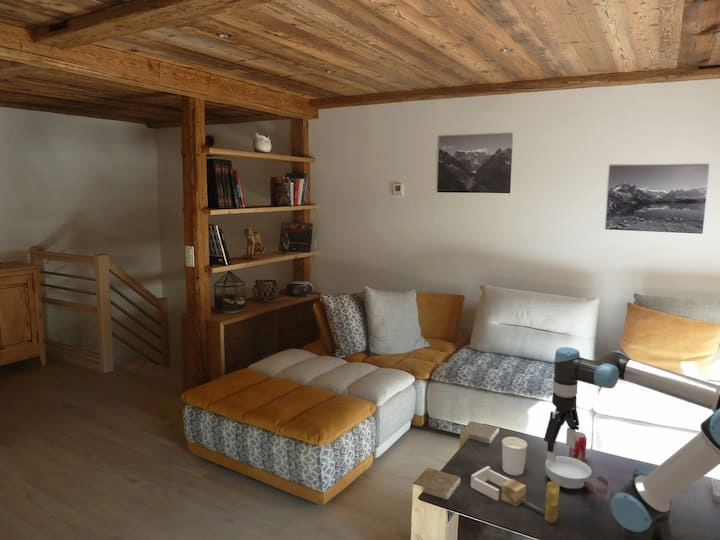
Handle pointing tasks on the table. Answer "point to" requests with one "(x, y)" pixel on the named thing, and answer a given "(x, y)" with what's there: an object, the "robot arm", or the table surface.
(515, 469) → the candle holder
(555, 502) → the tethered block
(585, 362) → the robot arm
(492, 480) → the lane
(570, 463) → the cereal bowl
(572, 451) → the beverage can
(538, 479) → the table surface
